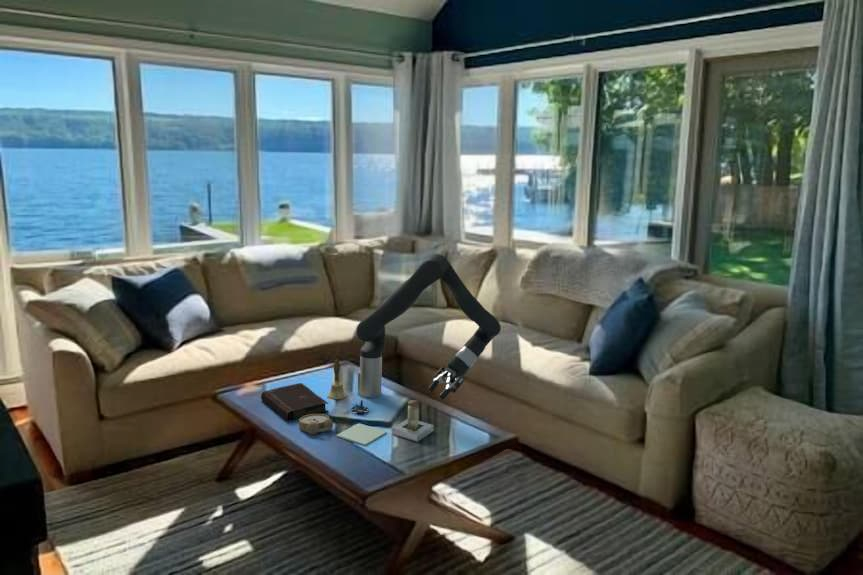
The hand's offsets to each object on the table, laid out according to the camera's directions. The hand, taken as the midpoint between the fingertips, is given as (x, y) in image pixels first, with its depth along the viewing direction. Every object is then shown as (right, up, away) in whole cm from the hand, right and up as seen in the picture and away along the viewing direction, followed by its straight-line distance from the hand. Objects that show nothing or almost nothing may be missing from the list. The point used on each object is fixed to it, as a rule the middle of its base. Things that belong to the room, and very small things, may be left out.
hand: (435, 394), depth 240 cm
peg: (-8, -14, -2) cm, 16 cm away
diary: (-56, -9, +19) cm, 60 cm away
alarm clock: (-44, -13, -1) cm, 46 cm away
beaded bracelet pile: (-30, -10, +16) cm, 35 cm away
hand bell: (-41, -6, +32) cm, 52 cm away
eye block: (-8, -14, -2) cm, 16 cm away
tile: (-27, -14, -5) cm, 31 cm away
